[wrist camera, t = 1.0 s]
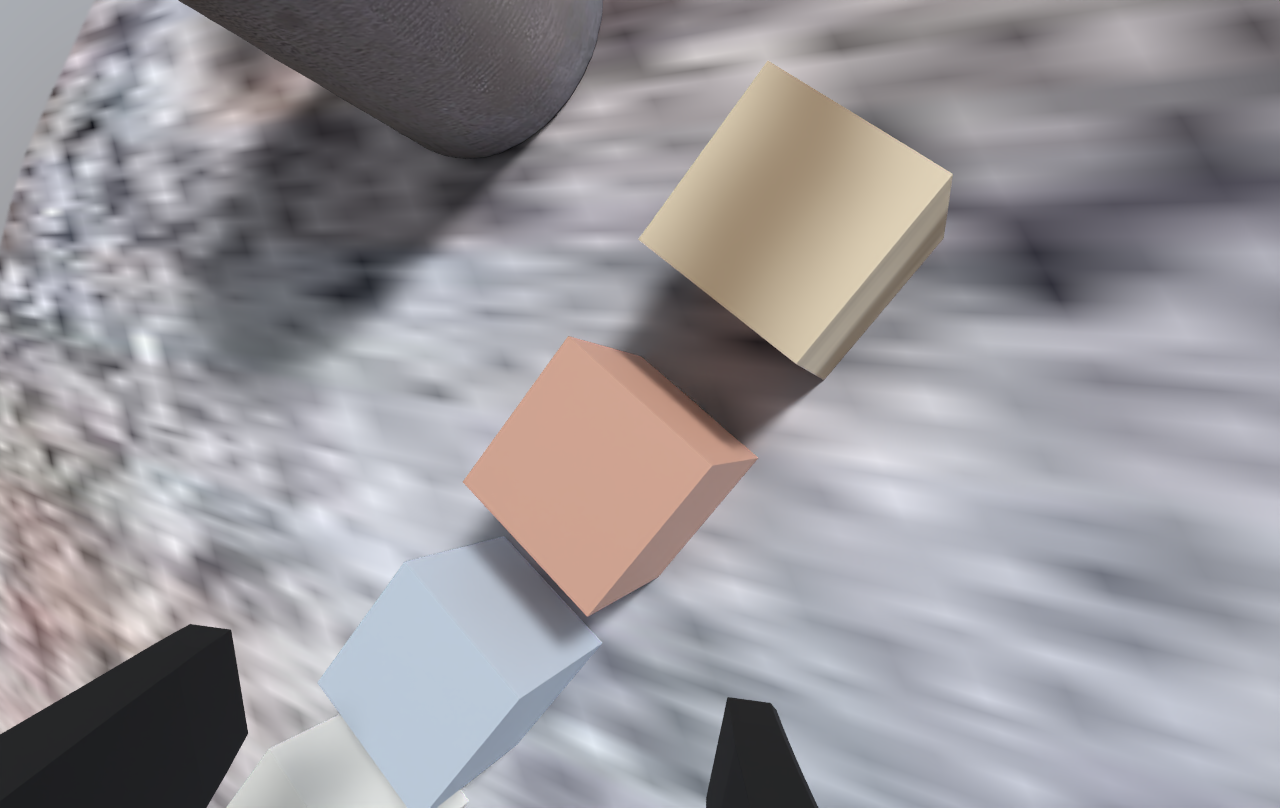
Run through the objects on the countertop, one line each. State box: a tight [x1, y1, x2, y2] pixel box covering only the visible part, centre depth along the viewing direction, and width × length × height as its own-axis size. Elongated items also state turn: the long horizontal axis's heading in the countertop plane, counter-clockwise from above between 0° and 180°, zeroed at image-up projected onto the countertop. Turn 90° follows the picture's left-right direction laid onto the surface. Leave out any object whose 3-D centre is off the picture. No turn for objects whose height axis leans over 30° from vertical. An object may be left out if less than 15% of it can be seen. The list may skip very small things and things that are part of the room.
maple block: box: [638, 61, 953, 380], centre depth 17 cm, size 5×5×5 cm
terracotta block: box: [463, 336, 758, 617], centre depth 19 cm, size 5×5×5 cm
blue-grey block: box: [318, 536, 602, 808], centre depth 21 cm, size 5×5×5 cm
